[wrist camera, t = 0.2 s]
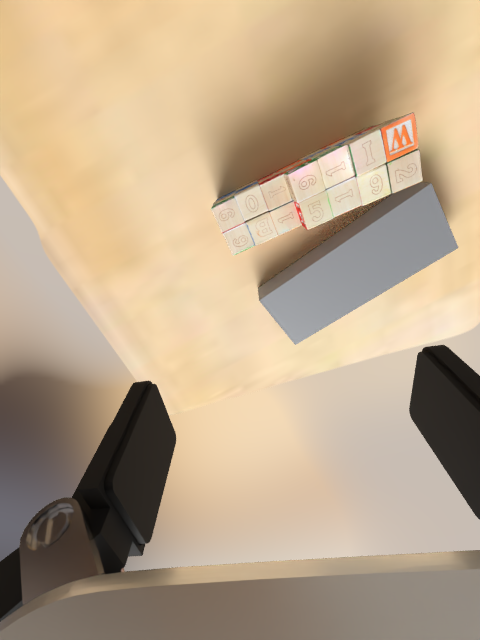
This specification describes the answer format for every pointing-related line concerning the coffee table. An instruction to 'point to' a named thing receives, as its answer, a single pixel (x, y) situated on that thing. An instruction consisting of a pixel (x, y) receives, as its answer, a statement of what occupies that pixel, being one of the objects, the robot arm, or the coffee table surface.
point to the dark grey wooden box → (359, 262)
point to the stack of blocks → (322, 184)
